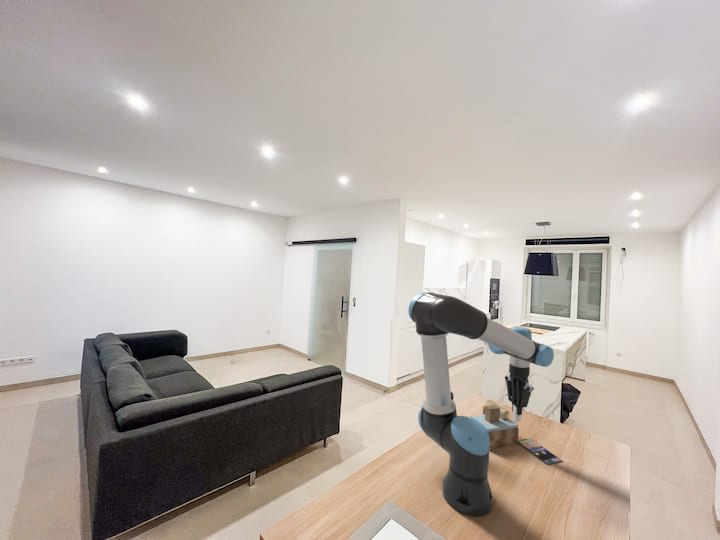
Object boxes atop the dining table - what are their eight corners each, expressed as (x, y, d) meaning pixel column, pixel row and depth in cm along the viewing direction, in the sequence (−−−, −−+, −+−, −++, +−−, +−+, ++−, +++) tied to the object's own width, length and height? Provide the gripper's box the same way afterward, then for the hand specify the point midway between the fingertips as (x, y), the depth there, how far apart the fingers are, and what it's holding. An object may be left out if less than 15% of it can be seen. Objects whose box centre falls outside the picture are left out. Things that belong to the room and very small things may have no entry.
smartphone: (547, 466, 114) (547, 463, 114) (515, 443, 128) (516, 440, 128) (563, 462, 117) (563, 459, 117) (530, 440, 131) (530, 437, 131)
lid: (487, 434, 122) (488, 414, 122) (470, 421, 133) (471, 402, 132) (517, 429, 127) (518, 410, 127) (499, 417, 137) (500, 399, 137)
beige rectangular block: (503, 419, 130) (503, 411, 130) (485, 407, 140) (486, 400, 140) (508, 418, 131) (509, 411, 131) (490, 406, 141) (491, 399, 141)
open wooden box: (486, 449, 122) (487, 426, 122) (463, 429, 137) (464, 408, 136) (519, 443, 127) (520, 421, 127) (493, 424, 142) (494, 404, 141)
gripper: (540, 369, 119) (536, 428, 120) (514, 359, 132) (511, 412, 132) (525, 371, 117) (521, 430, 118) (500, 360, 130) (497, 414, 130)
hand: (516, 420), depth 125 cm, fingers closed
